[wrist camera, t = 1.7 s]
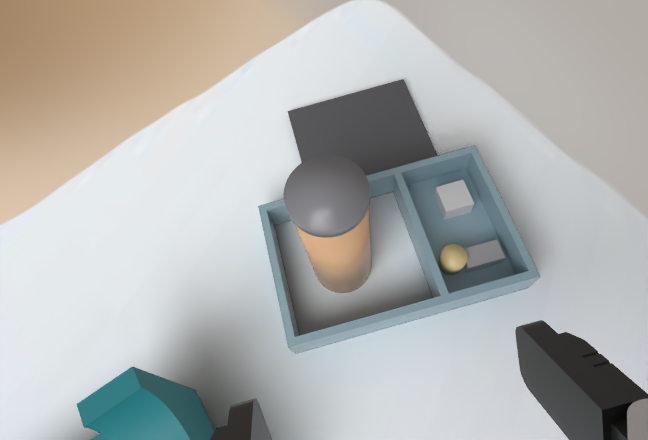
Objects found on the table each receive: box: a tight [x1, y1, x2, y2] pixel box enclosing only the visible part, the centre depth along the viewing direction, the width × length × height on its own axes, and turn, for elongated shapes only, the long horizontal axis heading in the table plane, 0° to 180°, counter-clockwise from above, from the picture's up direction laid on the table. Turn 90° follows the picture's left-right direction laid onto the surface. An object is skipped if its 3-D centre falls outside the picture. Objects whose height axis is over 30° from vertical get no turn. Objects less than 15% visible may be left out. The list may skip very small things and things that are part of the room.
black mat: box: [288, 79, 437, 176], centre depth 43 cm, size 12×10×1 cm
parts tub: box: [258, 145, 540, 354], centre depth 36 cm, size 19×12×3 cm, turn 104°
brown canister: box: [284, 155, 371, 293], centre depth 32 cm, size 5×5×13 cm
